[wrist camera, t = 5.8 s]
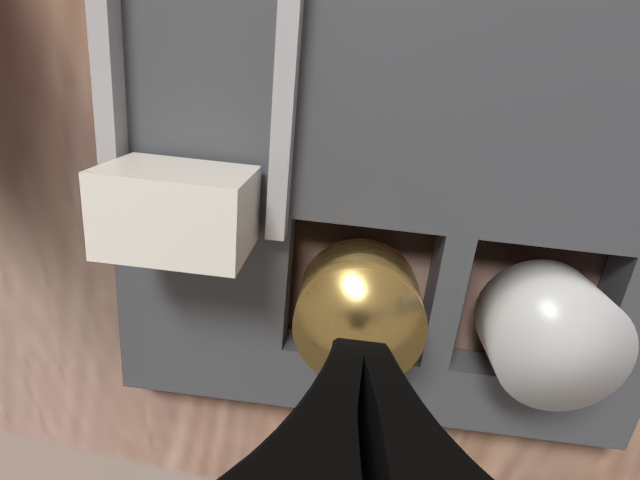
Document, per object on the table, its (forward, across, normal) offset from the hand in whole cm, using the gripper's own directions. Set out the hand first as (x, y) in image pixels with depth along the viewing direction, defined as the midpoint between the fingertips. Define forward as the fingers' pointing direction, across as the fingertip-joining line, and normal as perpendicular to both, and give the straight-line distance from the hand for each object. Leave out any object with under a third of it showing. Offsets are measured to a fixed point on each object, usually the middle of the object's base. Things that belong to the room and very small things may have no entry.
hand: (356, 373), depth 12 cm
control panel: (+6, -1, -3) cm, 7 cm away
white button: (+4, -6, 0) cm, 8 cm away
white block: (+4, +5, -3) cm, 7 cm away
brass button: (+4, 0, 0) cm, 4 cm away
